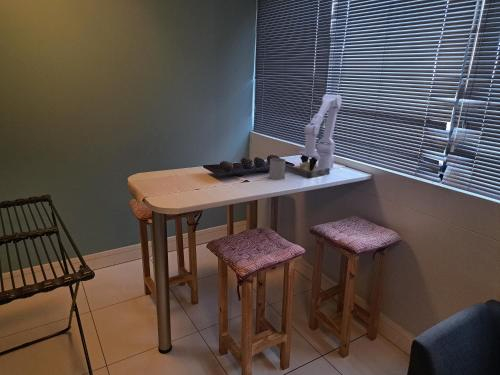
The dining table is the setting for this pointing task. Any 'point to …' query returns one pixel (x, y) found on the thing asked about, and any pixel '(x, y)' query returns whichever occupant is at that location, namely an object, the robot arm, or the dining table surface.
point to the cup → (277, 168)
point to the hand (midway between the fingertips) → (308, 169)
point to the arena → (307, 173)
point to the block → (306, 166)
